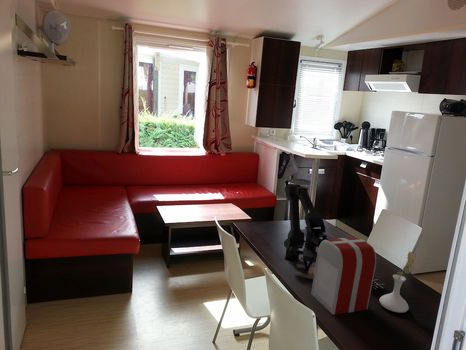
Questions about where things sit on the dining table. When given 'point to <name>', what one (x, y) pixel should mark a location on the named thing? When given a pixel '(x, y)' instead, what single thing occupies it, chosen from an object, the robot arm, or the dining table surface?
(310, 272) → the terracotta tile
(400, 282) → the flower in vase
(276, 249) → the dining table surface
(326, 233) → the toy spaceship
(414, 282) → the dining table surface
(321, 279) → the striped gift box
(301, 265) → the birch dock
